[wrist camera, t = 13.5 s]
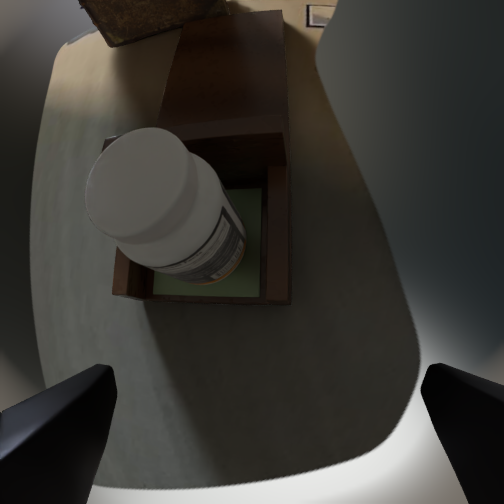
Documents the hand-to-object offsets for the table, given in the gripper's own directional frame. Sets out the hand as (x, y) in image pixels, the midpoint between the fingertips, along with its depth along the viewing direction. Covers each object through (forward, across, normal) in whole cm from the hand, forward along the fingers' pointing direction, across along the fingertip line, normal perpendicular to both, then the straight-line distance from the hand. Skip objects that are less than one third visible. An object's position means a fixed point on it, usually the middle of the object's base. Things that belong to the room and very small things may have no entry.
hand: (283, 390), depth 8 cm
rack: (+20, +3, -10) cm, 23 cm away
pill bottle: (+14, +3, -1) cm, 14 cm away
